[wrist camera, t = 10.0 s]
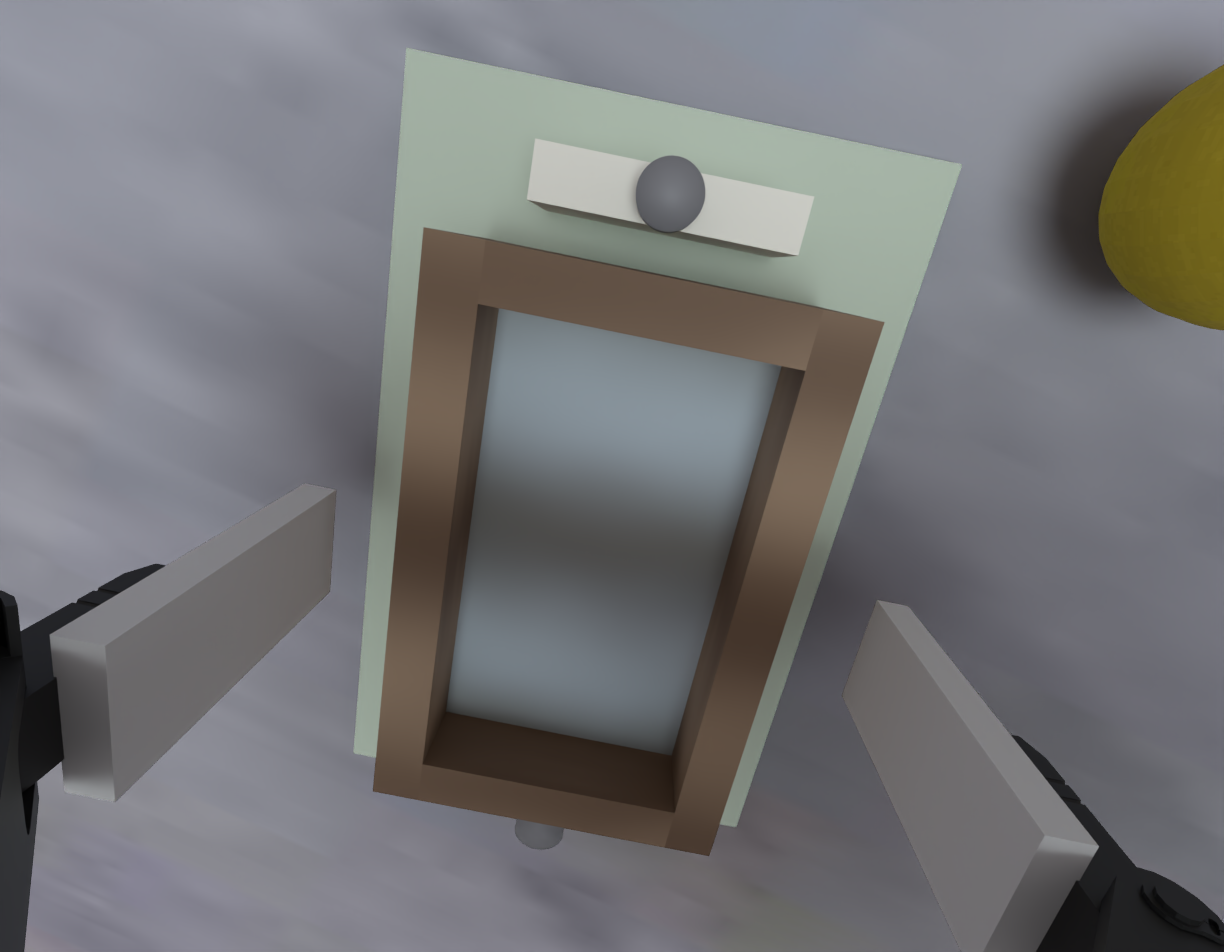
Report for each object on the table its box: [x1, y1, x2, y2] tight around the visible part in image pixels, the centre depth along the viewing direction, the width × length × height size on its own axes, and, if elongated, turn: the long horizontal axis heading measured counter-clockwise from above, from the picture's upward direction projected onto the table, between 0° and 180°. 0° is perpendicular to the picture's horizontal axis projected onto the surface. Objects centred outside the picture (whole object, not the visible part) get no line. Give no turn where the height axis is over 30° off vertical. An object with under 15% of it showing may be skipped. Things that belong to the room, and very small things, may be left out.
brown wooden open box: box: [373, 227, 885, 856], centre depth 17 cm, size 14×9×5 cm, turn 169°
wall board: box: [354, 48, 962, 850], centre depth 17 cm, size 22×14×4 cm, turn 169°
